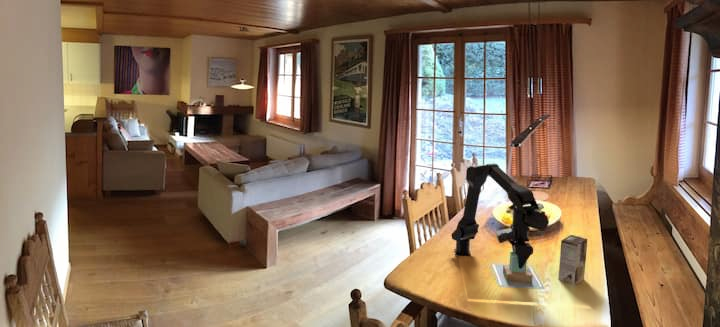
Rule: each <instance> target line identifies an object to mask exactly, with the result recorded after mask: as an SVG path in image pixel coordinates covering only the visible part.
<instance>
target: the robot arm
mask: <svg viewBox="0 0 720 327" xmlns="http://www.w3.org/2000/svg"><path fill="white" fill-rule="evenodd" d="M488 176H489V177H490V178H491V179H492V180H493V181H494V182H495V183H496V184H498V186H500V187H501V188H502V189H503V190H504V191H505V192H506V194H507V198H508V200H509V201H510V203H512V204H511V205H510V206H508V209H509V210H511V211H512V212H513V213H512V223H511V224H510V226H509V227H508V228H504V229H500V230H497V231H495V235H496V238H497V241H498V243H499V244H503V243H505V242H509V244H510V245H511V248H512V252H514V253H515V254H516V255H517V257H518V266H519V268H520V269H522V268H523V266H524V264H525V263H526V261H528V260H529V258H530V256H532V255H533V254H534V247H533V246H532V244H530V243H529V242H530V239H529V232H530V231H531V228H532V229H535V230H537V231H540V232H543V231H545V230H546V229H547V228H548V226H549V223H550V220H549V217H548V216H547V215H546V211H544V210H540V207H539V205H538V202H537V200H536V198H535V197H534V192H533V191H532V190H531V189H530V188H528V187H526V186H524V185H521V184H518V183H517V182H516V181H515V180H513V178H512V177H510V176H509V175H508V174H507V173H506V172H505V171H504V170H503V169H501V168H500V166H499V164H498V163H495V162H493V163H486V164H481V165H479V164H478V165H470V166H468V167H467V168H466V173H465V180H466V182H467V184H468V185H467V186H468V187H467V192H466V199H465V205H464V208H463V209H464V210H463V214H462V217H461V218H460V220H459V221H458V223H457V226H456V227H455V228H456V229H455V230H454V231H453V232H452V233H451V235H450V236H451V239H452V240H453V241H455V248H454V255H456V256H471V255H472V254H471V250H470V247H471V246H470V245H471V244H470V243H471V240H475V238H476V235H477V234H478V233H479V227H480V224H479V223H477V221H476V216H477V210H478V204H479V198H480V195H481V194H480V193H481V189H482V187H483V186H484V184H485V183H486V182H487V178H488ZM526 264H527V263H526Z"/></svg>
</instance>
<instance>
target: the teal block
mask: <svg viewBox="0 0 720 327" xmlns="http://www.w3.org/2000/svg"><path fill="white" fill-rule="evenodd" d="M527 261H528V260H527ZM527 261H526V263H525V264H524V266H523V268H522V269H520V268H519V266H518V257H517V255H516V254H515V253H514V252H513V251H510V253H509V264H510V265H509V267H510V269H511V271H512V272H518V273H526V265H527Z"/></svg>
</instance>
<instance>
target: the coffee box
mask: <svg viewBox="0 0 720 327" xmlns="http://www.w3.org/2000/svg"><path fill="white" fill-rule="evenodd" d="M587 247H588V238H586V237H585V238H584V237H581V236H578V235H573V234H569V235H568V236H566V237H565V238H563V239H561V243H560V253H559V254H560V255H559V268H558V276H557V277H558V278H557V279H558V280H559V281H562V282H565V283H569V284H573V285H575V286H577V285H578V284H579V283H582V281H583V280H585V273H586V260H587Z"/></svg>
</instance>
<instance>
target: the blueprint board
mask: <svg viewBox="0 0 720 327" xmlns="http://www.w3.org/2000/svg"><path fill="white" fill-rule="evenodd" d="M490 265H491V270H492V272H493V274H494V277H495V280H496V282H497V286H498V287H500V288H502V287H504V288H517V289H520V288H521V289H539V290H546V287H545V286H544V284H543V283H542V281H541V278H540V277H539V276H538V274H537V273H536V271H535V269H534V268H533V265H529V264H526V266H528V268H529V270H530V271H531V273H532V275H533V278H532V283H520V282H507V281H506V279H505V276H504V274H503V265H510V263H509V264H507V263H490Z"/></svg>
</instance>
